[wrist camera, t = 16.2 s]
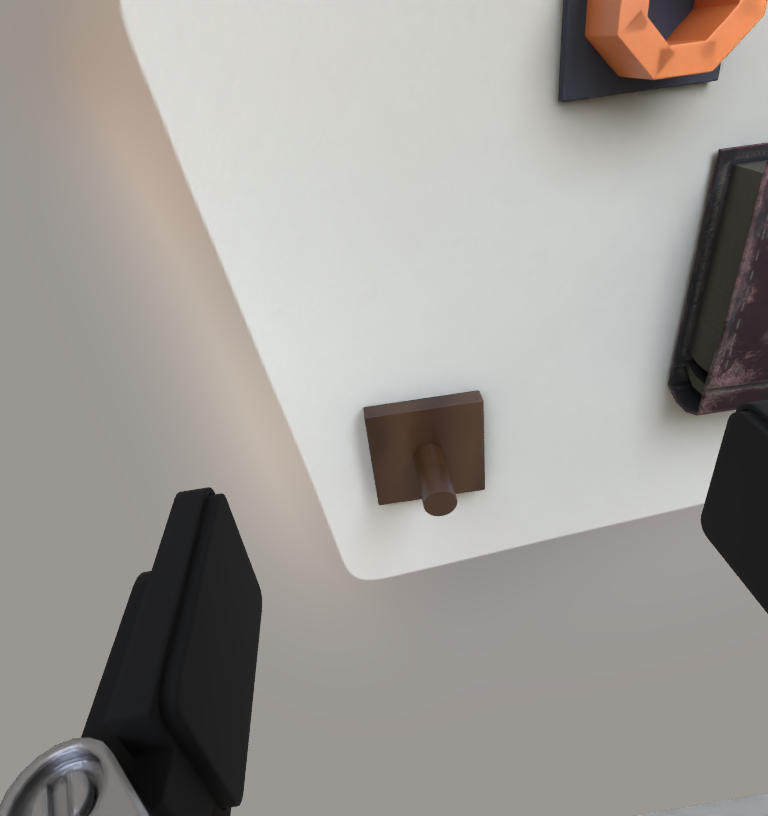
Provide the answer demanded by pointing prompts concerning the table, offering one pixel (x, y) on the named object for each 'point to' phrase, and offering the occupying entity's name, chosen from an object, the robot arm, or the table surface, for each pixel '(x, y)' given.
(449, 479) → the stand
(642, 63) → the ring
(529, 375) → the table surface
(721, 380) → the diary
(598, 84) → the mat
